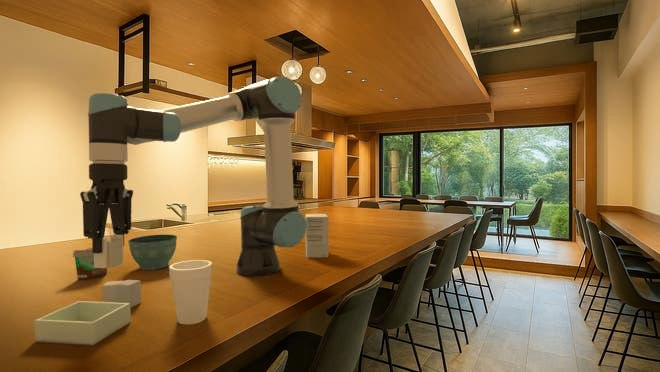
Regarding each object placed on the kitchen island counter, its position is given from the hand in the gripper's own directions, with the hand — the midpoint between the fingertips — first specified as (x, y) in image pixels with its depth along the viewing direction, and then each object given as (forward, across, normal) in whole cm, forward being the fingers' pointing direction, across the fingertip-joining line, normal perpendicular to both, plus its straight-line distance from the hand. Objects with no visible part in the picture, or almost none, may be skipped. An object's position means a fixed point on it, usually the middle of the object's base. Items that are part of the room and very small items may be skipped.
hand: (109, 264), depth 82 cm
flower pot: (+13, -47, -21) cm, 54 cm away
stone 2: (+14, -14, -10) cm, 22 cm away
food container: (+14, -34, -33) cm, 49 cm away
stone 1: (0, 0, 0) cm, 0 cm away
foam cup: (+14, -5, +18) cm, 23 cm away
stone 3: (+14, -12, -4) cm, 19 cm away
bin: (+14, +4, -2) cm, 15 cm away
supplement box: (+12, -73, +35) cm, 82 cm away
